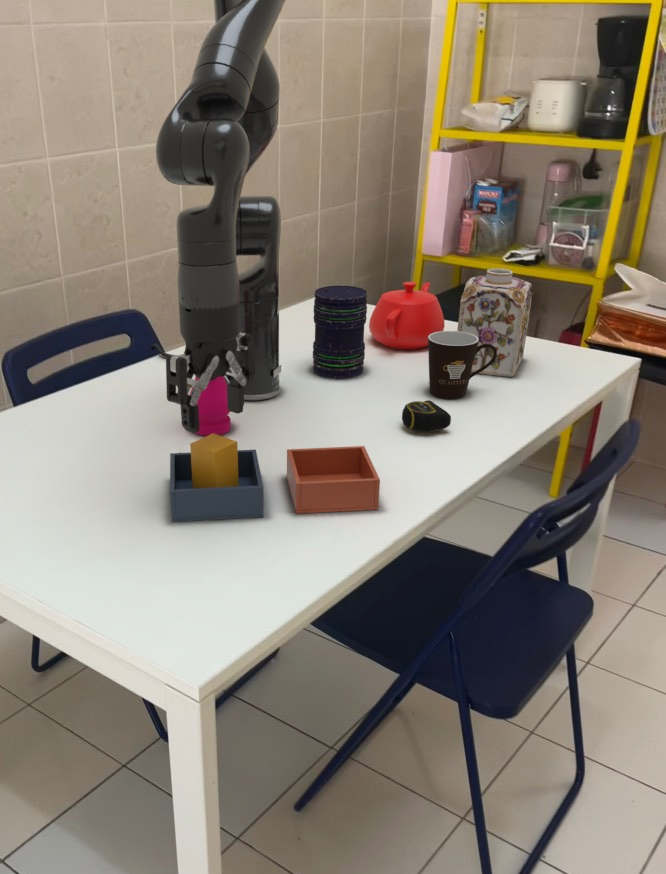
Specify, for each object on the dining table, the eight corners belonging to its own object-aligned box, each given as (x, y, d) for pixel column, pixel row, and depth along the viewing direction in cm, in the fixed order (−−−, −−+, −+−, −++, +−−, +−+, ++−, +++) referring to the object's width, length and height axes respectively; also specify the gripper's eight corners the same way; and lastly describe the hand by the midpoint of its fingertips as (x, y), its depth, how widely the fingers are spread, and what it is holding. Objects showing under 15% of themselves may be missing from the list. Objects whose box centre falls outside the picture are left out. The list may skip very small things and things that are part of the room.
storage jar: (372, 367, 169) (377, 289, 162) (349, 382, 162) (352, 301, 154) (327, 359, 174) (329, 283, 166) (302, 373, 166) (303, 294, 159)
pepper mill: (241, 424, 145) (238, 303, 135) (221, 440, 139) (217, 315, 129) (202, 418, 148) (197, 298, 138) (181, 433, 142) (174, 310, 132)
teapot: (424, 363, 171) (429, 300, 165) (349, 352, 177) (352, 292, 171) (459, 329, 190) (465, 272, 184) (391, 321, 196) (395, 265, 190)
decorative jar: (451, 371, 167) (461, 275, 158) (463, 353, 176) (473, 261, 167) (515, 378, 163) (529, 280, 154) (524, 360, 172) (538, 266, 163)
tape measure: (451, 433, 141) (453, 411, 139) (412, 438, 139) (414, 416, 137) (431, 418, 146) (433, 397, 145) (394, 423, 145) (395, 401, 143)
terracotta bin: (295, 513, 118) (296, 483, 115) (286, 477, 127) (286, 449, 125) (378, 509, 118) (380, 479, 116) (362, 474, 128) (364, 445, 126)
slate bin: (172, 521, 116) (169, 491, 114) (172, 481, 126) (170, 453, 124) (263, 517, 117) (263, 487, 115) (256, 477, 127) (255, 449, 125)
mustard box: (216, 506, 119) (214, 452, 115) (193, 496, 121) (190, 443, 117) (238, 494, 122) (237, 441, 118) (215, 485, 124) (212, 433, 120)
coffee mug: (418, 397, 155) (423, 342, 150) (429, 382, 162) (434, 328, 157) (484, 406, 151) (492, 349, 146) (493, 390, 158) (500, 335, 153)
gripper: (225, 282, 115) (228, 400, 123) (145, 305, 105) (155, 430, 113) (269, 291, 110) (270, 412, 118) (190, 315, 101) (197, 445, 109)
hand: (214, 421), depth 116 cm, fingers open, 8 cm apart
